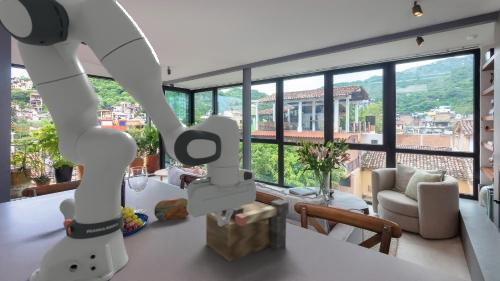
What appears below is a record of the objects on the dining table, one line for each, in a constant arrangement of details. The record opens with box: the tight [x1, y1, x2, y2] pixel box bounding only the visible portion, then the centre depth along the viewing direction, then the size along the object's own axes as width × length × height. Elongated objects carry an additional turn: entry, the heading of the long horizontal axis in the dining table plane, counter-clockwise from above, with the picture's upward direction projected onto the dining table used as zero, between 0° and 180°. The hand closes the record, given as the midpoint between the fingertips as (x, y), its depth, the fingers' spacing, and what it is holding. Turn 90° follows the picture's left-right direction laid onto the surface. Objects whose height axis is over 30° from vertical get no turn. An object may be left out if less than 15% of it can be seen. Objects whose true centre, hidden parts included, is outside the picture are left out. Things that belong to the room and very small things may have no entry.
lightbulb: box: [58, 197, 75, 221], centre depth 98 cm, size 6×6×11 cm
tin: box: [153, 197, 190, 222], centre depth 107 cm, size 15×3×8 cm, turn 114°
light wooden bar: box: [235, 205, 278, 226], centre depth 77 cm, size 15×3×2 cm, turn 129°
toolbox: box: [205, 199, 290, 263], centre depth 83 cm, size 20×18×15 cm
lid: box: [207, 200, 268, 229], centre depth 83 cm, size 20×18×5 cm
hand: (223, 224), depth 69 cm, fingers closed
